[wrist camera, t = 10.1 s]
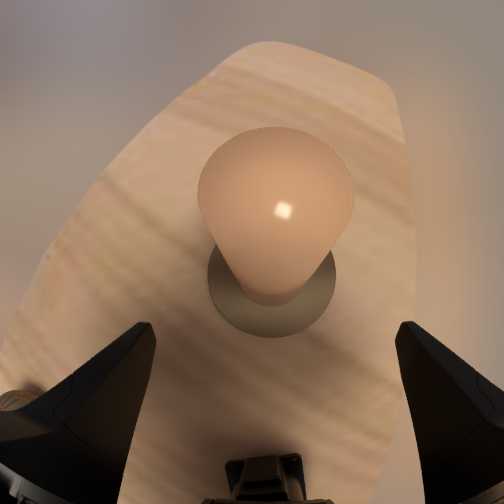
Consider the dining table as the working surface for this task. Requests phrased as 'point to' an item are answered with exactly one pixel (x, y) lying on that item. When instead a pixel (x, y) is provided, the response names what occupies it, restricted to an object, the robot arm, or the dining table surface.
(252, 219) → the tan tapered cylinder
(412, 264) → the dining table surface
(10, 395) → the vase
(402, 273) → the dining table surface
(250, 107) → the dining table surface
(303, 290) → the stand
